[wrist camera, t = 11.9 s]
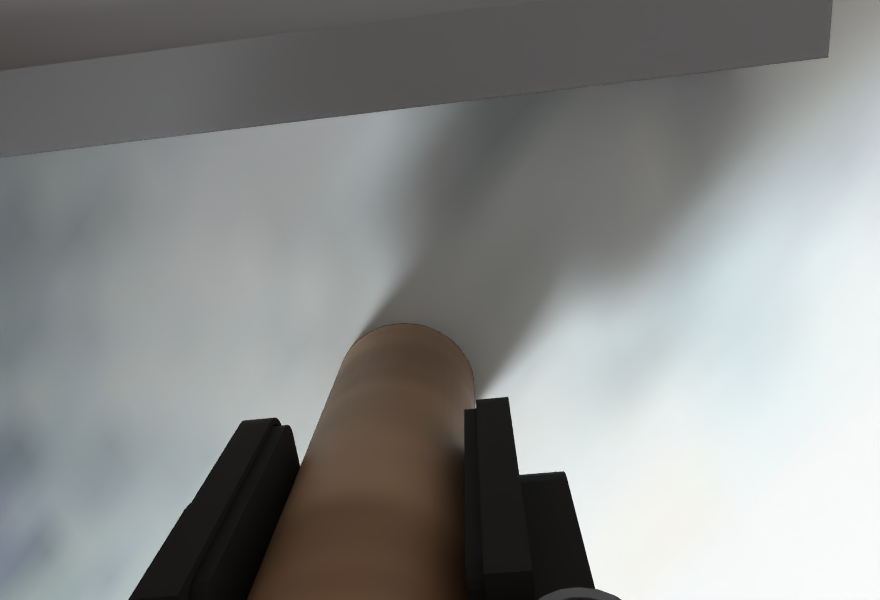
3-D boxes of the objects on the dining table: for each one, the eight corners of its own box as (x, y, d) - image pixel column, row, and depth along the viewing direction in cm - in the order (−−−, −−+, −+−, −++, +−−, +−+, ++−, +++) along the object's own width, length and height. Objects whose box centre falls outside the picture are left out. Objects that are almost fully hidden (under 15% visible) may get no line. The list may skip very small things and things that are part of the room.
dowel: (480, 439, 15) (542, 1647, 3) (350, 450, 15) (12, 1623, 4) (466, 317, 14) (492, 1448, 2) (327, 331, 14) (-231, 1428, 3)
